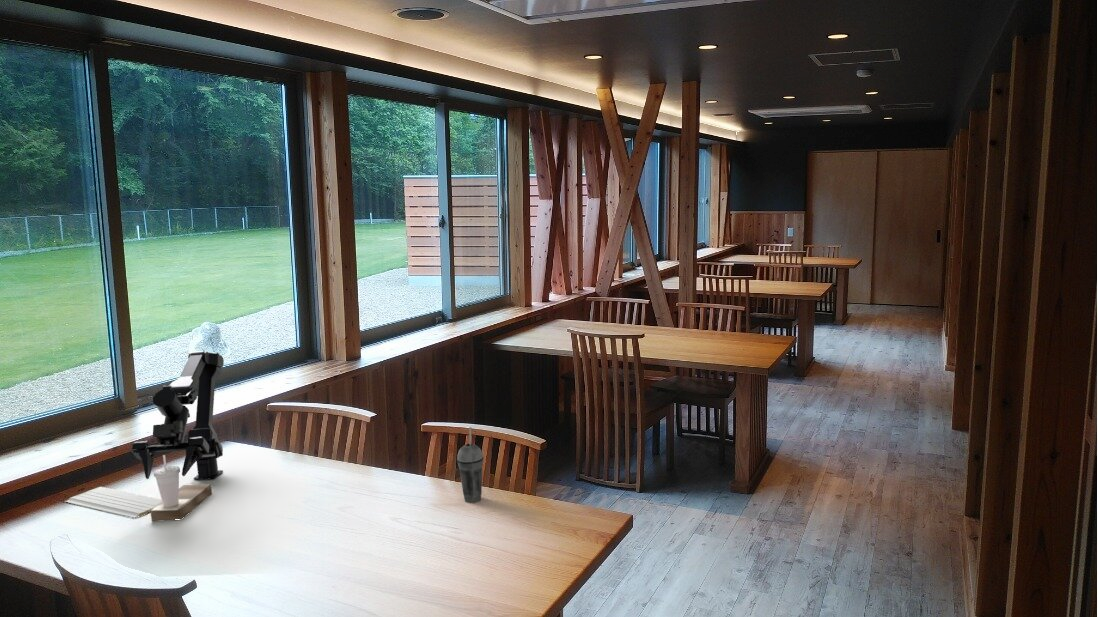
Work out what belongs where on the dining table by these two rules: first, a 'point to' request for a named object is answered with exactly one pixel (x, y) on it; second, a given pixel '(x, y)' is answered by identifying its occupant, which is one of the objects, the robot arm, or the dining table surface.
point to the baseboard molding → (115, 501)
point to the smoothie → (168, 484)
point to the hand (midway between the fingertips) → (165, 477)
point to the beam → (182, 502)
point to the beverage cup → (471, 471)
